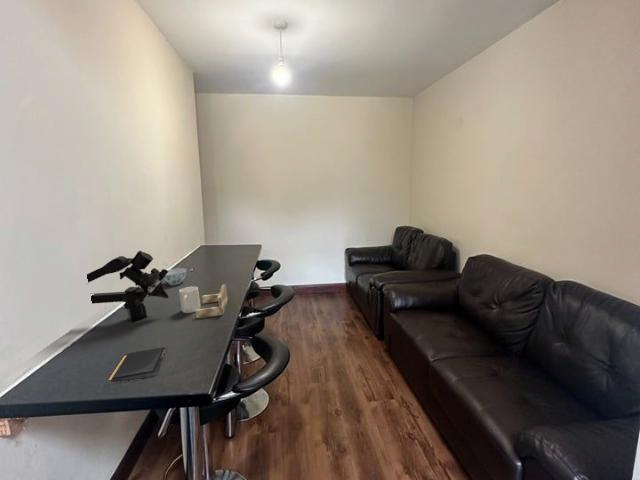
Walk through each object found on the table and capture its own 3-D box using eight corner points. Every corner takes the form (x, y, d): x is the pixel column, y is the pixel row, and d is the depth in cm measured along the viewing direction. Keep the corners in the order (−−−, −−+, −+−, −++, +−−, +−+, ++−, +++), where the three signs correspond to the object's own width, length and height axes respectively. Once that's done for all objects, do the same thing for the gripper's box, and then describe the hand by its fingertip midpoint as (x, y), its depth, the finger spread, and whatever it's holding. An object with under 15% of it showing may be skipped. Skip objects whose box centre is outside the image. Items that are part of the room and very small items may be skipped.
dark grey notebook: (154, 373, 103) (100, 382, 100) (155, 379, 103) (101, 388, 101) (169, 343, 122) (124, 350, 120) (170, 348, 123) (124, 355, 120)
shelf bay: (196, 318, 148) (193, 301, 147) (203, 302, 168) (201, 286, 167) (223, 314, 150) (221, 297, 149) (227, 299, 170) (225, 284, 169)
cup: (202, 305, 164) (199, 285, 162) (195, 315, 152) (192, 293, 150) (185, 307, 163) (182, 287, 161) (176, 317, 151) (173, 295, 150)
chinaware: (163, 282, 212) (161, 270, 211) (188, 278, 216) (187, 267, 215) (159, 289, 198) (157, 276, 197) (187, 284, 202) (185, 272, 201)
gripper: (127, 285, 139) (159, 307, 143) (157, 255, 152) (185, 276, 156) (121, 295, 146) (152, 315, 150) (150, 265, 160) (178, 285, 163)
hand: (167, 297), depth 155 cm, fingers closed
